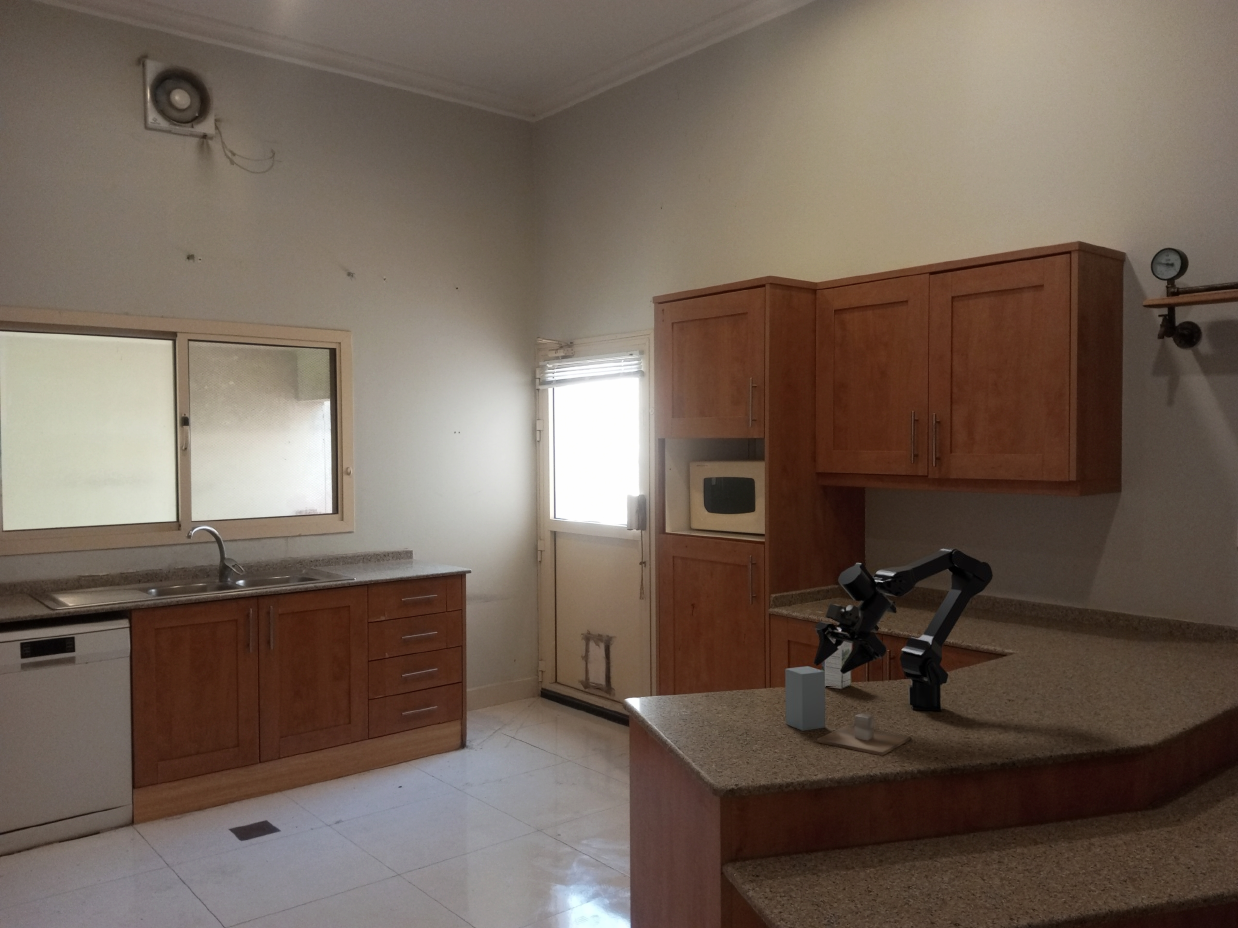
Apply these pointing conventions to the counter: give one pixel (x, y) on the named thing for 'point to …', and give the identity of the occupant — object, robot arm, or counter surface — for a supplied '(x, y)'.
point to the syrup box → (837, 667)
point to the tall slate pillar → (805, 698)
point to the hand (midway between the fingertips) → (828, 668)
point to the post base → (864, 745)
